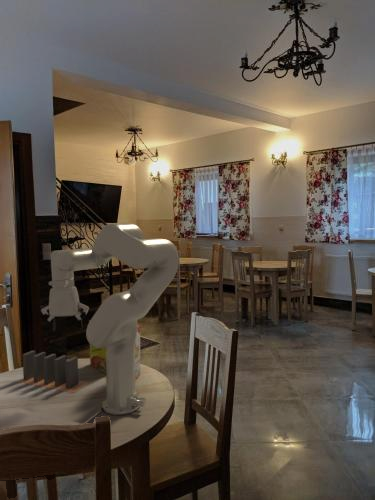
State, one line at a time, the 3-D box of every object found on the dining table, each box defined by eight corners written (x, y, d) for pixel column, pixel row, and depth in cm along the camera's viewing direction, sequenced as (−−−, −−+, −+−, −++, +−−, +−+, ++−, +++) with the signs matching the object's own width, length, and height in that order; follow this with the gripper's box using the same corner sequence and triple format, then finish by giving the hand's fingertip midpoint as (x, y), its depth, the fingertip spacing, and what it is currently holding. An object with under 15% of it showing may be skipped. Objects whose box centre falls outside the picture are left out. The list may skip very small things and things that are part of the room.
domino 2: (46, 377, 148) (45, 352, 147) (37, 382, 143) (36, 356, 143) (43, 377, 149) (42, 351, 148) (33, 382, 144) (32, 356, 143)
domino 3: (56, 379, 146) (56, 354, 146) (47, 384, 142) (46, 358, 141) (53, 379, 147) (52, 353, 146) (44, 384, 142) (43, 357, 142)
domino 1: (36, 375, 150) (35, 350, 149) (26, 380, 145) (25, 355, 145) (33, 375, 151) (32, 350, 150) (23, 380, 146) (22, 354, 145)
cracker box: (129, 392, 137) (128, 335, 135) (113, 391, 138) (112, 334, 137) (141, 377, 151) (140, 324, 149) (127, 375, 152) (126, 324, 150)
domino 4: (67, 381, 144) (66, 355, 144) (58, 386, 140) (57, 360, 139) (64, 380, 145) (63, 355, 144) (54, 386, 140) (54, 359, 140)
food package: (89, 367, 162) (87, 320, 160) (91, 366, 162) (90, 319, 161) (108, 377, 150) (106, 327, 149) (110, 376, 151) (109, 327, 150)
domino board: (88, 385, 143) (88, 382, 143) (73, 395, 135) (73, 392, 135) (34, 375, 153) (34, 373, 153) (17, 384, 145) (17, 381, 145)
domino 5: (78, 383, 143) (77, 357, 142) (69, 389, 138) (68, 361, 137) (74, 382, 143) (74, 356, 142) (66, 388, 138) (65, 361, 138)
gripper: (35, 286, 135) (38, 334, 136) (83, 284, 135) (86, 332, 135) (44, 283, 143) (47, 329, 144) (90, 281, 142) (92, 327, 143)
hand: (66, 330), depth 140 cm, fingers open, 9 cm apart
